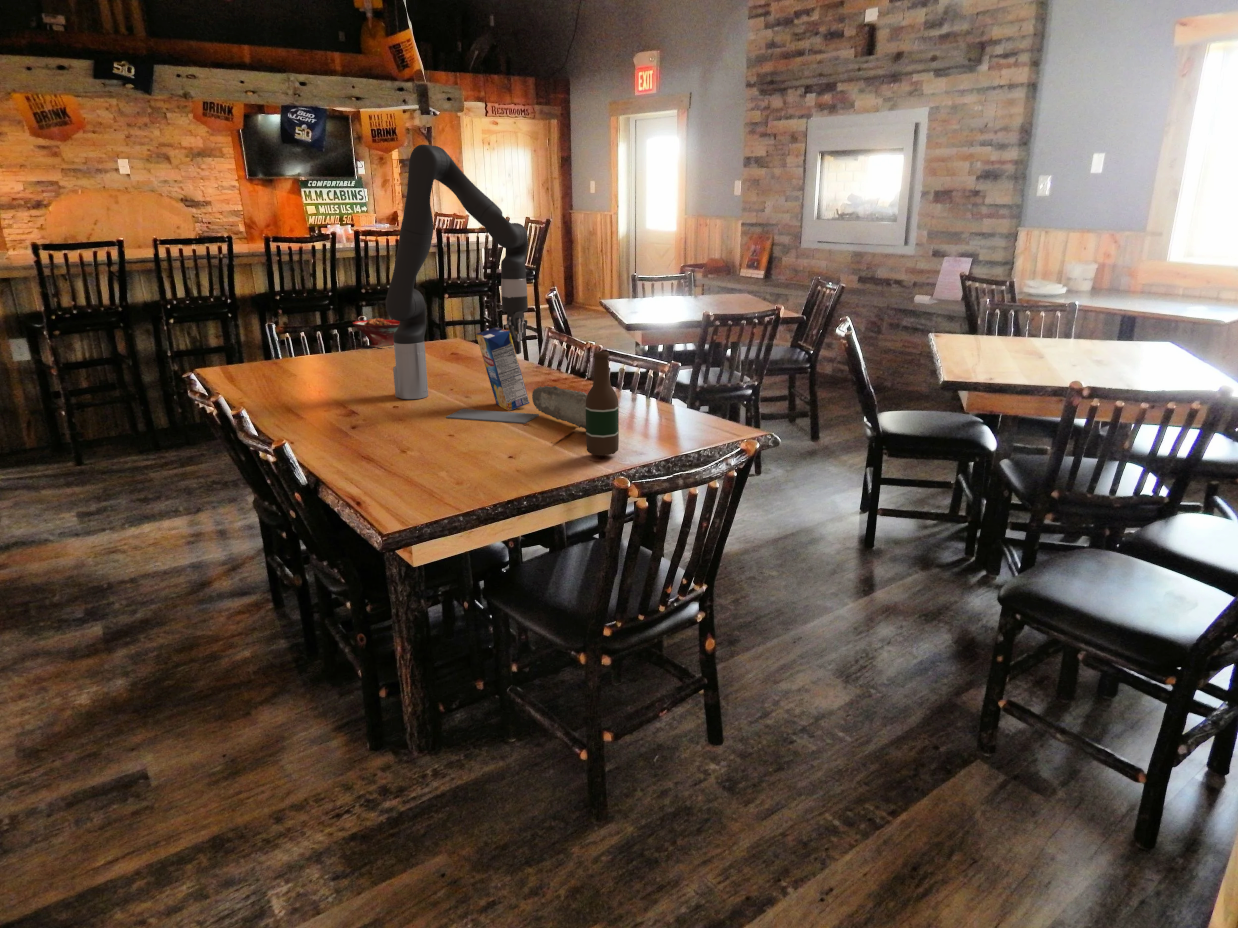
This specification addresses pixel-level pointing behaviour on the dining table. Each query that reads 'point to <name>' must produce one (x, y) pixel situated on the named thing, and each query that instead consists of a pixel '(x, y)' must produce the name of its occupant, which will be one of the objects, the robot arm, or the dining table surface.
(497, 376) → the beverage box
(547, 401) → the elongated rock
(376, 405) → the dining table surface
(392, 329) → the stew
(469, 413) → the mat
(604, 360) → the beer bottle
